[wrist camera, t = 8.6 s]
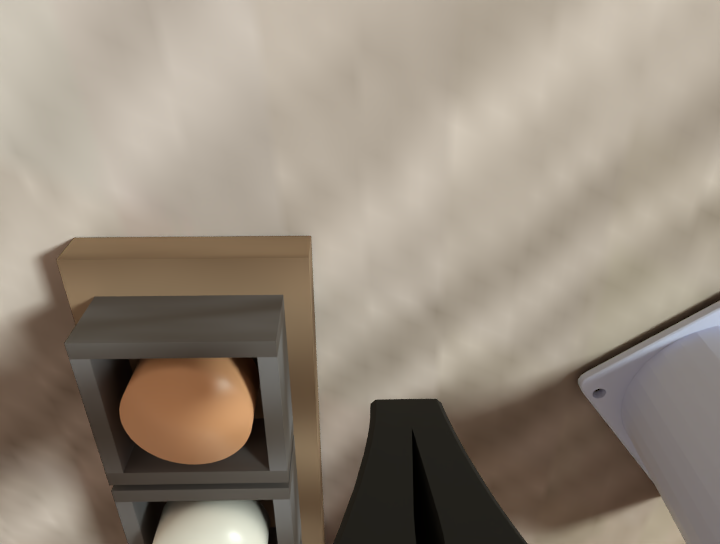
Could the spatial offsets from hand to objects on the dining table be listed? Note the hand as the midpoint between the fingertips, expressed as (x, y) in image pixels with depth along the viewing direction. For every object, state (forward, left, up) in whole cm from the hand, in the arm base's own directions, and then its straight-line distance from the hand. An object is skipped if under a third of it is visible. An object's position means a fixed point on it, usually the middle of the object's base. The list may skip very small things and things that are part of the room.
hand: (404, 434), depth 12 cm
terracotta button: (0, +8, -7) cm, 11 cm away
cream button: (-5, +12, -6) cm, 14 cm away
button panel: (-5, +12, -9) cm, 16 cm away
